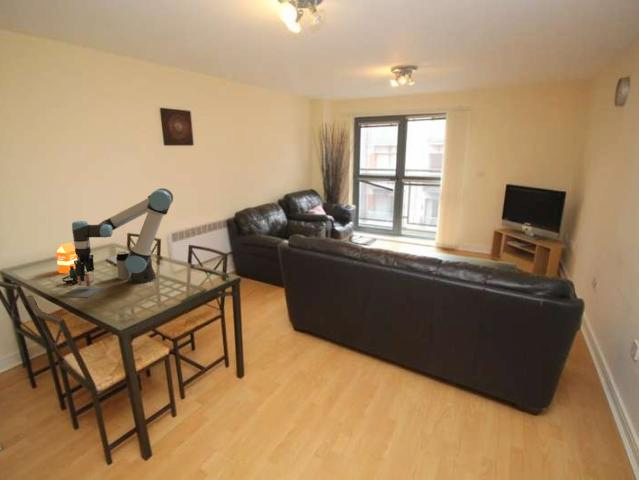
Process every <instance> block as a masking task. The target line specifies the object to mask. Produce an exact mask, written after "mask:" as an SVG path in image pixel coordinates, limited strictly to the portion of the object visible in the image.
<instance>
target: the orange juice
mask: <svg viewBox="0 0 639 480" xmlns="http://www.w3.org/2000/svg"><path fill="white" fill-rule="evenodd" d="M55 254H56V261H57V267H58V268H57V269H58V273H59V274H70V273H69V270H70V266H74V269H75V264H74V260H77V255H76V254H75V245H73V244H72V242H71V241H69V242H66V243H63V244H60V245H59V246H58V248H57V250H56V253H55Z"/></svg>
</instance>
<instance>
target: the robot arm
mask: <svg viewBox="0 0 639 480" xmlns="http://www.w3.org/2000/svg"><path fill="white" fill-rule="evenodd" d="M173 201H174V195H173V193H172V191H170V190H169V189H167V188H164V187H163V188H158V189H156V190H154V191H152V192H151V194H150V195H148V196H147V198H145V199H144V200H142V201H140V202H138V203H135V204H134V205H132V206H130V207H128V208H126V209H124V210H122V211H120V212H119V213H117V214H114V215H113V216H110V217H109V218H107V219H104V220H103V221H101V222H100V223H98V224H89V223H88V221H86V220H77V221H73V222H72V223H71V231H72V238H73V242H74V245H73V246H74V247H75V254H76V255H77V260H74V264H75V268H76V274H77V276H80V280H81V285H82V286H81V287H88V286H87V282H86V276H84V275H85V271H89V272H93V273H94V270H95V267H94V264H95V263H94V254H91V253H92V251H91V250H92V249H91V241H90V238H104V239H105V238H111V237H112V235H113V231H114V230H116V229H118V228H120V227H122V226H124V225H126V224H128V223H129V222H131V221H133V220H136V219H137V218H140V217H141V216H143V215H145V214H146V217H145V218H144V222H143V224H142V227H141V229H140V233H139V235H138V238H137V239H136V243H135V246H131V247H130V250H129V256H128V258H127V259H126V261H125V267H126V269H127V270H128V271H130V272H132V273H131V277H130V278H129V279H130V282H131V283H135V284H143V283H144V282H145V283H149V282H148V281H150V282H152V281H151V280H153V279H155V278H156V279H157V277H156V276H157V275H156V272H155V270H154V268H153V261H152V260H153V259H152V246H153V243H154V240H155V238H156V236H157V232H158V230H159V228H160V225H161V223H162V220H163V217H164V216H166V215H167V214H168V212H169V209H170V207H171V205H172V203H173ZM156 279H155V280H156ZM153 281H154V280H153ZM145 283H144V284H145Z"/></svg>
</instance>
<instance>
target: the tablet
mask: <svg viewBox="0 0 639 480" xmlns="http://www.w3.org/2000/svg"><path fill="white" fill-rule="evenodd" d="M116 257H117V254H116V255H112V256H107V257H106V259H107V261H108V260H110V261H111V262H110V261H109V262H110V263H112V262H113V263H112V264H114V265H115V264H116V265H115V266H117V260H116Z"/></svg>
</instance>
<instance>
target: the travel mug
mask: <svg viewBox="0 0 639 480" xmlns="http://www.w3.org/2000/svg"><path fill="white" fill-rule="evenodd" d="M115 253H116V255H117V257H116V260H117V265H116V268H117V276H118V279H119V280H128V279H130V277H131V273H132V272H130V271H128V270H127V269H126V267H125V261H126V259H127V258H128V256H129V253H130V250H120V251H117V252H115Z"/></svg>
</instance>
